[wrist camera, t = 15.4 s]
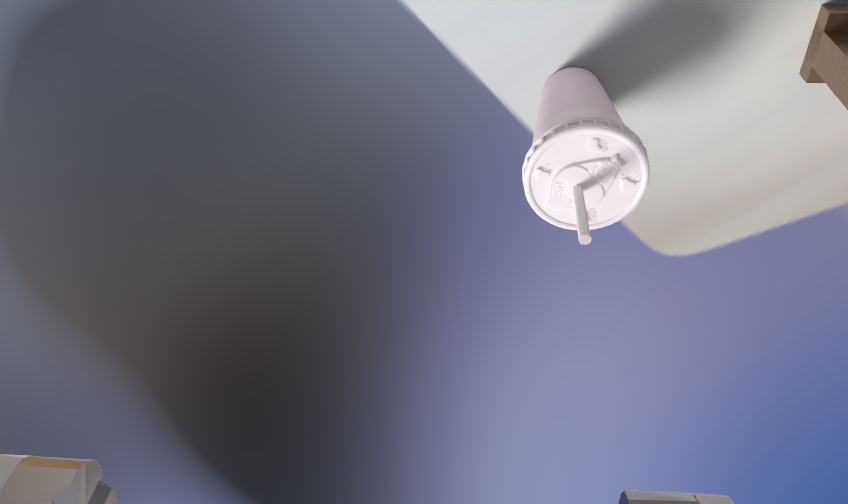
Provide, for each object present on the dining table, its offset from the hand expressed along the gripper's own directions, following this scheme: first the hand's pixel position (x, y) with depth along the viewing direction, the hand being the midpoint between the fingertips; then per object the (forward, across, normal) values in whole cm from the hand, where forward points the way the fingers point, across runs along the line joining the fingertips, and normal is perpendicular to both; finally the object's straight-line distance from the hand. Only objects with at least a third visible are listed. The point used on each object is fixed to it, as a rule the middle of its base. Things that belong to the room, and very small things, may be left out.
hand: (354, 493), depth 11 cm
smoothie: (+34, -7, +10) cm, 36 cm away
